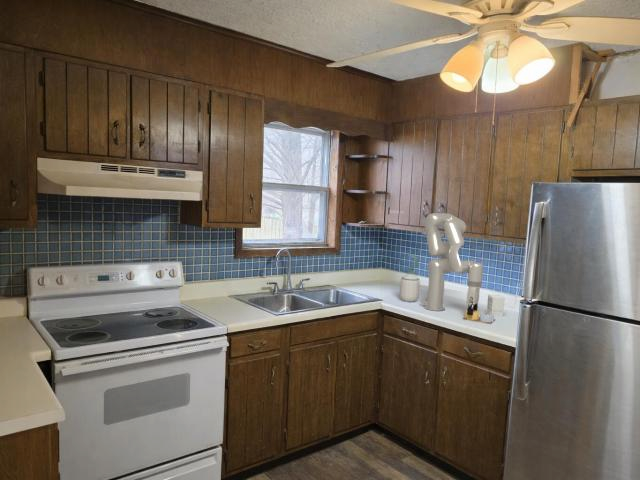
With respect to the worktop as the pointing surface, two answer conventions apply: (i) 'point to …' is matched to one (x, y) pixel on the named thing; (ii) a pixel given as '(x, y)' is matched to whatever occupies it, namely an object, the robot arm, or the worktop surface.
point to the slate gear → (486, 317)
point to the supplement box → (496, 305)
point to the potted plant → (410, 284)
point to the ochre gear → (474, 316)
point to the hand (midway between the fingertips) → (472, 313)
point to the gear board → (479, 319)
